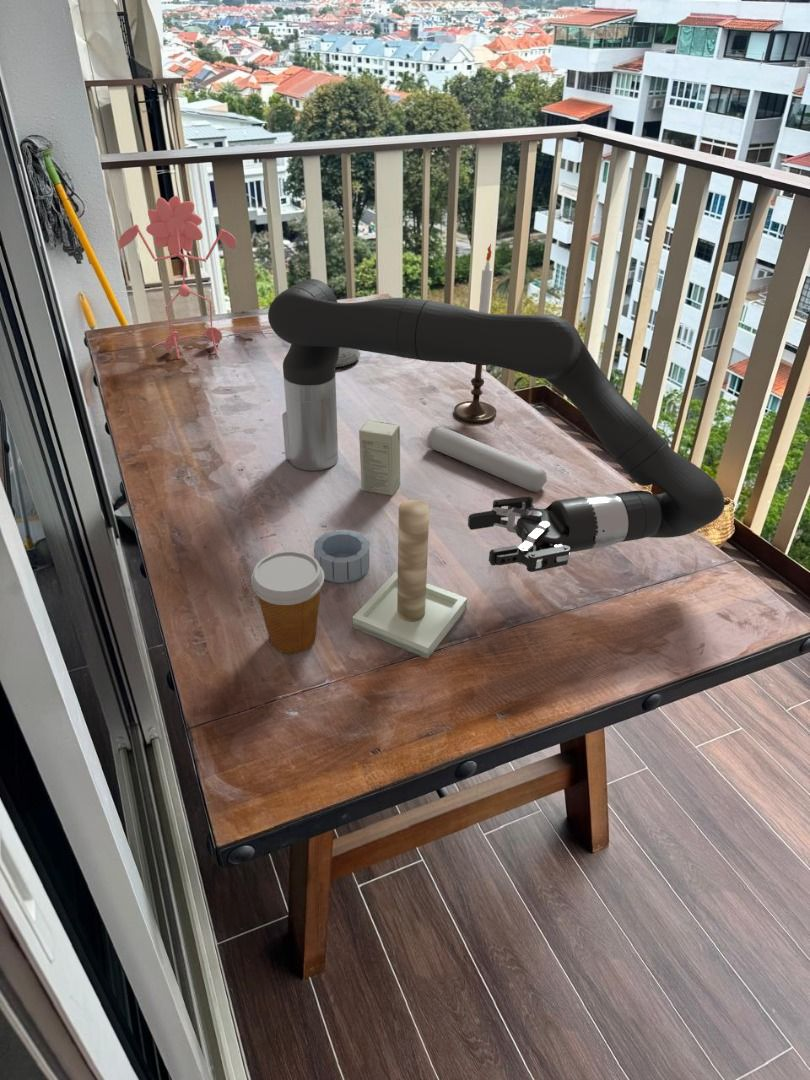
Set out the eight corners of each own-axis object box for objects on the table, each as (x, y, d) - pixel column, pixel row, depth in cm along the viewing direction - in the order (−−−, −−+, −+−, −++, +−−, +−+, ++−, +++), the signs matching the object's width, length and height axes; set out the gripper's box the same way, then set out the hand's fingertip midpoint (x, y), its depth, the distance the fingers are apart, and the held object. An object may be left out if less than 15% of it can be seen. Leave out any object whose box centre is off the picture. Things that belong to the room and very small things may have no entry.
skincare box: (400, 484, 138) (402, 424, 131) (392, 496, 134) (393, 436, 127) (368, 478, 139) (367, 418, 132) (359, 489, 136) (358, 429, 129)
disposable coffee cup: (260, 616, 108) (252, 549, 101) (327, 613, 109) (324, 547, 102) (255, 664, 100) (246, 595, 93) (327, 661, 101) (324, 592, 94)
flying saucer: (326, 343, 193) (325, 322, 189) (372, 358, 186) (372, 336, 182) (285, 361, 183) (284, 339, 179) (332, 377, 176) (332, 355, 172)
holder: (304, 571, 116) (303, 551, 114) (335, 544, 122) (334, 524, 120) (350, 590, 113) (349, 569, 111) (379, 560, 119) (379, 540, 117)
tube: (555, 467, 137) (446, 423, 149) (542, 470, 133) (430, 424, 145) (546, 494, 139) (439, 448, 151) (533, 498, 134) (424, 450, 147)
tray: (352, 627, 107) (352, 617, 105) (395, 581, 115) (395, 571, 114) (427, 658, 102) (428, 648, 101) (466, 608, 110) (467, 598, 109)
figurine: (251, 350, 187) (234, 198, 167) (144, 365, 178) (113, 206, 158) (237, 330, 198) (220, 186, 178) (135, 343, 190) (105, 193, 170)
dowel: (392, 615, 107) (392, 511, 97) (405, 599, 110) (408, 496, 99) (416, 625, 106) (420, 520, 95) (430, 609, 109) (435, 505, 98)
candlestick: (463, 398, 168) (476, 234, 147) (508, 410, 163) (527, 242, 143) (440, 417, 160) (450, 246, 139) (486, 430, 156) (503, 256, 135)
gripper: (568, 474, 110) (463, 489, 106) (615, 528, 99) (500, 547, 95) (561, 517, 114) (460, 533, 111) (606, 573, 103) (495, 593, 100)
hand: (479, 539), depth 103 cm, fingers open, 8 cm apart
